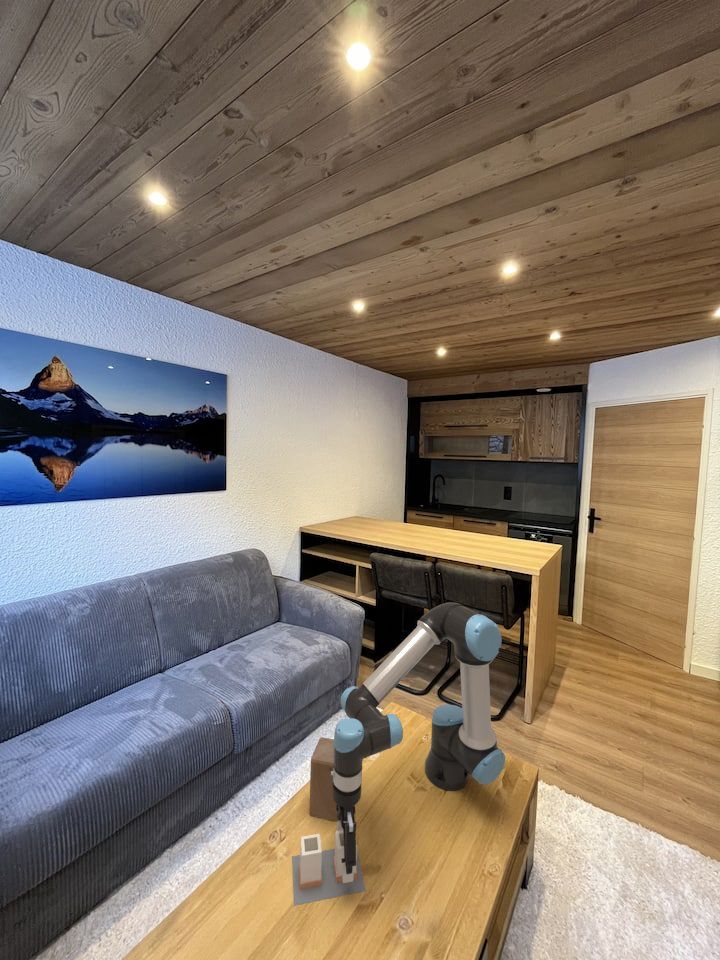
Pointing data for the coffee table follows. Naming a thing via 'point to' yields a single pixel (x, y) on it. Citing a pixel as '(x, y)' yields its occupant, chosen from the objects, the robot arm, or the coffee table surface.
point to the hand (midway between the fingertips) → (344, 861)
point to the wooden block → (322, 781)
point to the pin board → (325, 881)
